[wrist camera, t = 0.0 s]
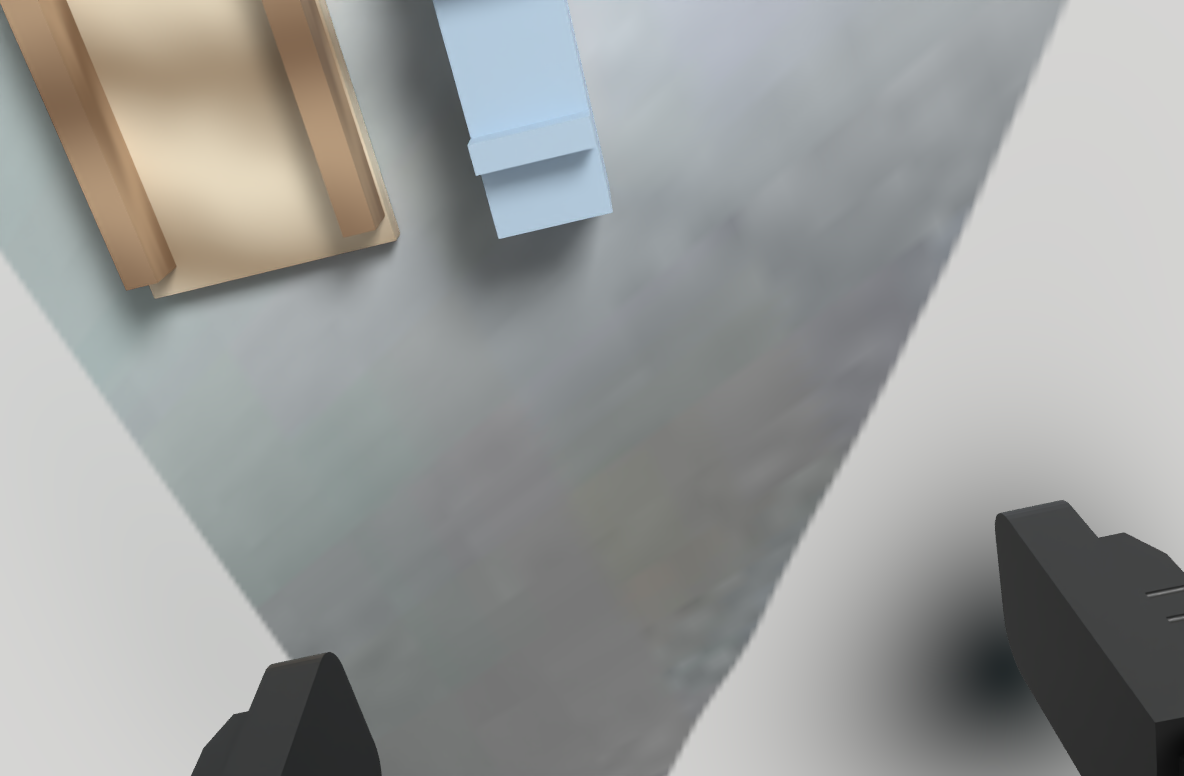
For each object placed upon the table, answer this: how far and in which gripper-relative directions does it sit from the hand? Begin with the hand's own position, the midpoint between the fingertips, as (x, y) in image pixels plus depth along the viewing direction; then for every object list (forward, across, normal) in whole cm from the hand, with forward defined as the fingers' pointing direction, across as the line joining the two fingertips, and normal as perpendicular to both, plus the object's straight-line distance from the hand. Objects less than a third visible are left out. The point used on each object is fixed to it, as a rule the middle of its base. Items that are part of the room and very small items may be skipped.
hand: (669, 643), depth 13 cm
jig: (+29, +13, -7) cm, 33 cm away
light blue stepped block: (+30, +2, -5) cm, 30 cm away
